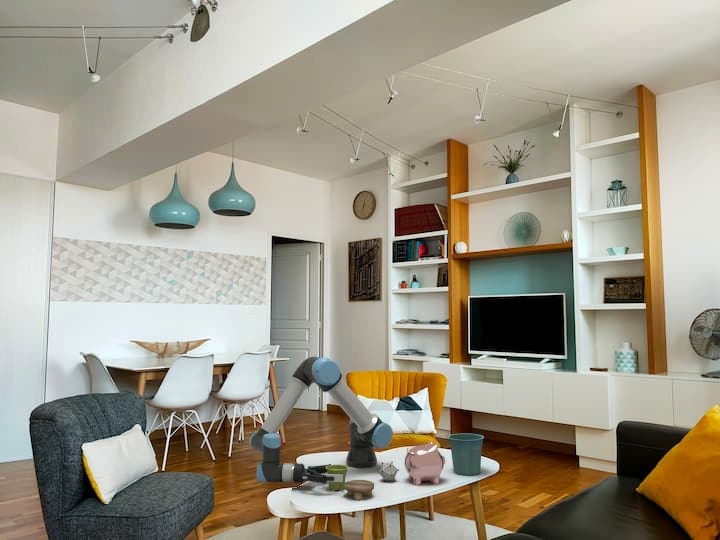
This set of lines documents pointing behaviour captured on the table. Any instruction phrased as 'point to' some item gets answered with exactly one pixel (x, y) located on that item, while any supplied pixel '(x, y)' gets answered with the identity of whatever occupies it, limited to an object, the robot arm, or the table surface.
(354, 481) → the stand
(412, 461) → the piggy bank
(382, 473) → the game die
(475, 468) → the flower pot
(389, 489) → the table surface
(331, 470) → the plant pot
